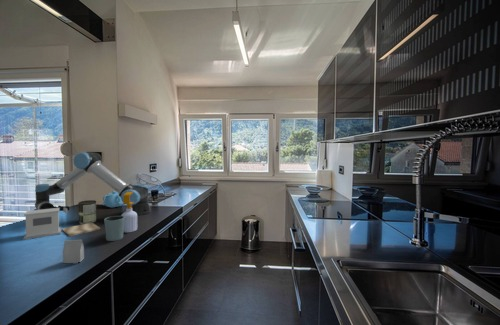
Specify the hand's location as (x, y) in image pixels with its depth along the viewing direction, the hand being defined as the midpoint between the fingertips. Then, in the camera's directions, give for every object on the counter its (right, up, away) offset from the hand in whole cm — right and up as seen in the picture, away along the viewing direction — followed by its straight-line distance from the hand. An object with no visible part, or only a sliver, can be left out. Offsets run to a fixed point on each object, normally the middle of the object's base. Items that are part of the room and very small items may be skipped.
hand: (53, 213), depth 150 cm
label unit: (+5, -10, -13) cm, 17 cm away
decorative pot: (+7, -7, +56) cm, 57 cm away
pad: (+21, -10, -4) cm, 23 cm away
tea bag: (+48, -13, -45) cm, 67 cm away
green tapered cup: (+50, -11, -17) cm, 53 cm away
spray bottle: (+51, -10, -4) cm, 52 cm away
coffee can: (+13, -9, +13) cm, 20 cm away
